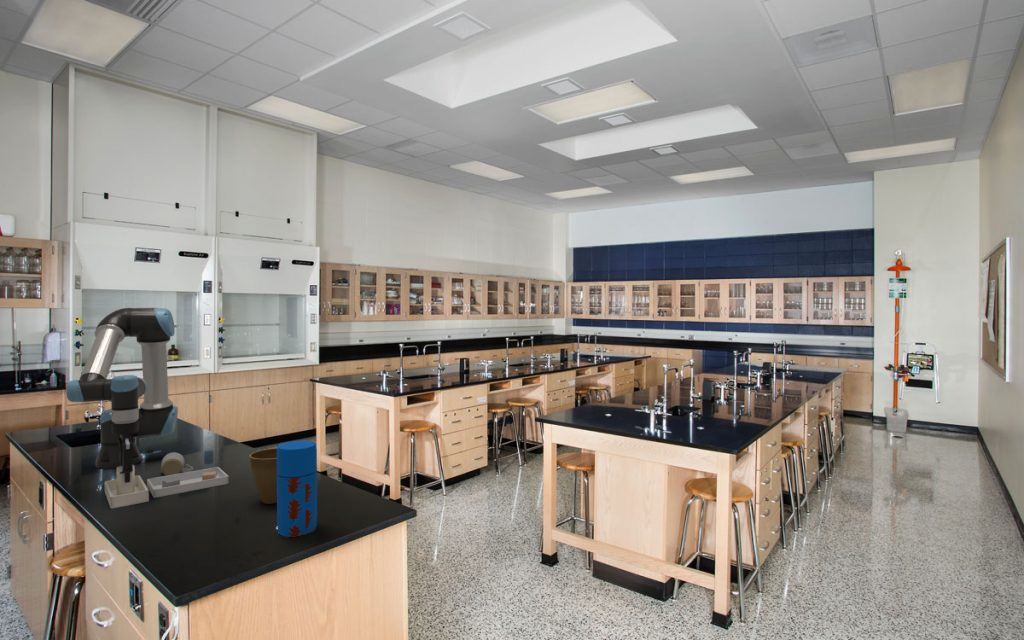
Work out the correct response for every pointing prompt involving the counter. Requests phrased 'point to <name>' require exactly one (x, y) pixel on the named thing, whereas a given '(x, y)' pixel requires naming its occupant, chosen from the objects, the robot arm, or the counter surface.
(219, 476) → the tray
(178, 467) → the ceramic mug
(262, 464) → the plant pot
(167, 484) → the gray cube
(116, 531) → the counter surface
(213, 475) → the orange cube
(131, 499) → the bin
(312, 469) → the thermos
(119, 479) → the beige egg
